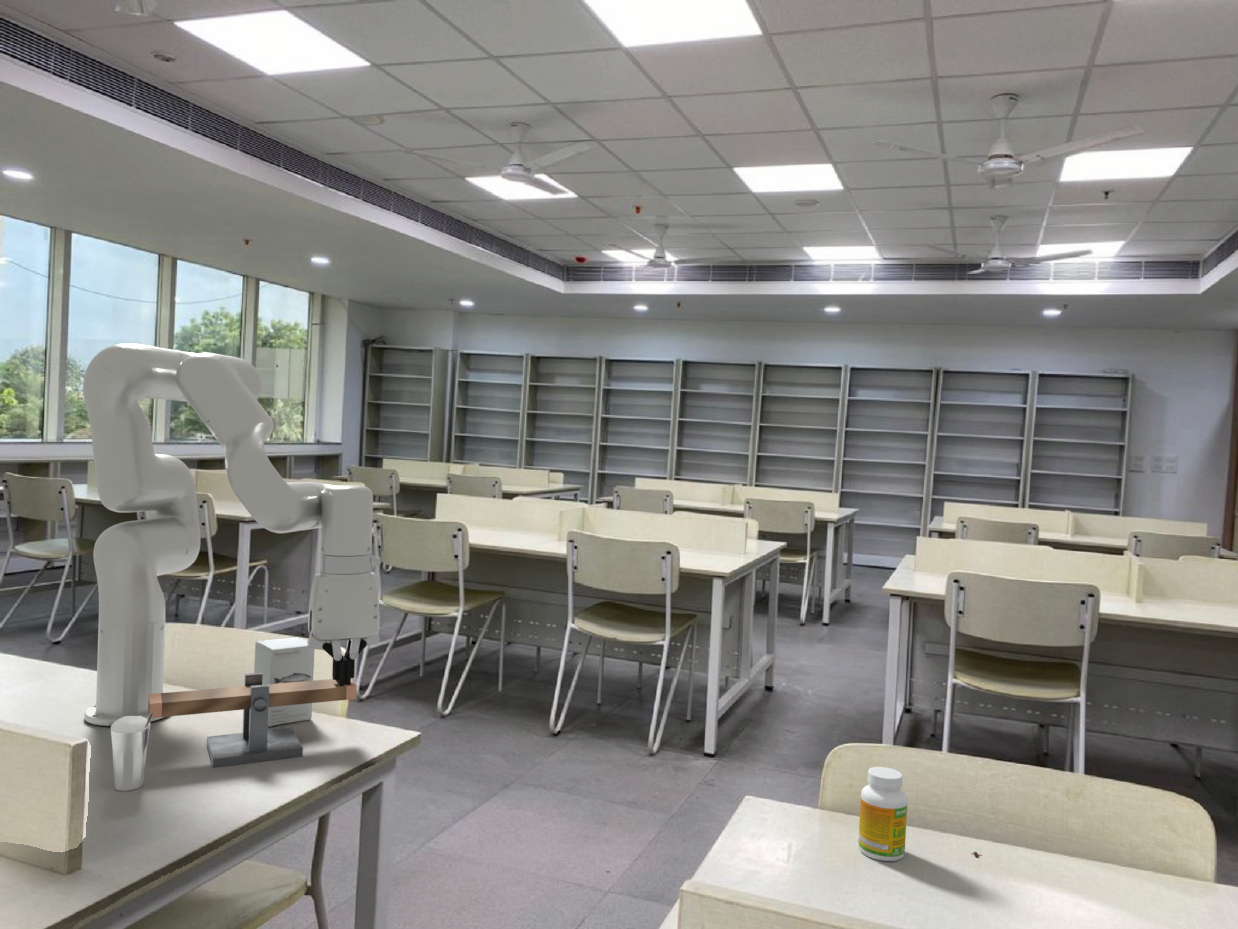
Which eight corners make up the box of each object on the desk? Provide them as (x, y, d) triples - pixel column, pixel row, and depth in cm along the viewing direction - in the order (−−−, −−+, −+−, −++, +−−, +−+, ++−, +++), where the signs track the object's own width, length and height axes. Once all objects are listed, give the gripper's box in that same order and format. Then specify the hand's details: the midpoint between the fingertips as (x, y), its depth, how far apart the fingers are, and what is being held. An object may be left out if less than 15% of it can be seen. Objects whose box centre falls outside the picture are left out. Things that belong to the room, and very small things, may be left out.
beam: (149, 718, 122) (149, 703, 122) (148, 708, 126) (148, 694, 126) (356, 699, 136) (356, 685, 136) (348, 690, 140) (349, 677, 140)
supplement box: (267, 728, 141) (270, 649, 141) (251, 716, 147) (254, 640, 146) (313, 720, 146) (315, 644, 146) (295, 708, 152) (298, 635, 151)
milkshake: (136, 796, 113) (139, 718, 113) (100, 791, 114) (102, 714, 114) (161, 783, 118) (164, 708, 118) (126, 778, 119) (129, 704, 119)
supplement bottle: (897, 867, 103) (902, 784, 103) (852, 854, 106) (856, 773, 106) (909, 850, 108) (913, 771, 108) (865, 838, 111) (869, 761, 111)
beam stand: (212, 767, 124) (215, 693, 124) (206, 744, 133) (209, 675, 132) (302, 756, 130) (305, 684, 129) (291, 735, 138) (293, 668, 138)
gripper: (388, 560, 143) (385, 673, 144) (290, 564, 136) (287, 682, 136) (401, 566, 137) (397, 684, 137) (299, 570, 130) (296, 695, 130)
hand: (343, 683), depth 137 cm, fingers closed
